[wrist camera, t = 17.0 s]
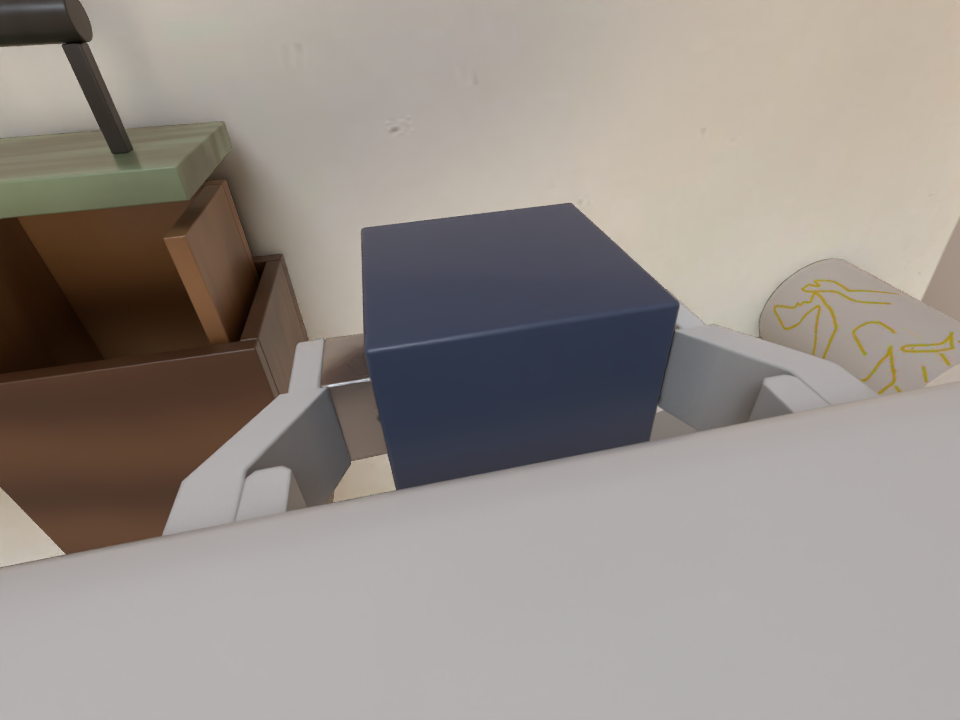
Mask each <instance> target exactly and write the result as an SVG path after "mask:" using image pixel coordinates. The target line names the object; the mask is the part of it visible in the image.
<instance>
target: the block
mask: <svg viewBox="0 0 960 720" xmlns="http://www.w3.org/2000/svg"><path fill="white" fill-rule="evenodd" d="M361 250H362V288H363V326H364V354H365V358H366V363H367V367H368V371H369V376H370V380H371V384H372V388H373V393H374V397H375V401H376V406H377V410H378V414H379V418H380V423H381V427H382V431H383V436H384V440H385V444H386V448H387V453H388V457H389V461H390V466H391V470H392V474H393V478H394V483H395V487H396V490H401V489H406V488H411V487H416V486H421V485H426V484H432V483H437V482H442V481H447V480H452V479H457V478H462V477H468V476H473V475H478V474H483V473H488V472H493V471H499V470H504V469H509V468H514V467H519V466H524V465H529V464H535V463H540V462H545V461H550V460H555V459H560V458H565V457H571V456H576V455H581V454H586V453H591V452H596V451H601V450H607V449H612V448H617V447H622V446H627V445H632V444H637V443H642V442H647V441H650V437H651V432H652V428H653V423H654V419H655V414H656V410H657V405H658V401H659V396H660V392H661V388H662V383H663V379H664V374H665V370H666V365H667V361H668V356H669V352H670V347H671V343H672V338H673V334H674V329H675V325H676V320H677V316H678V311H679V307H680V305H679V301H678V300H677V299H676V298H675V297H674V296H673V295H672V294H670V293H669V292H668V291H667V290H666V289H665V288H664V287H663V286H662V285H661V284H659V283H658V282H657V281H656V280H655V279H654V278H653V277H652V276H651V275H650V274H649V273H647V272H646V271H645V270H644V269H643V268H642V267H641V266H640V265H639V264H638V263H637V262H635V261H634V260H633V259H632V258H631V257H630V256H629V255H628V254H627V253H626V252H624V251H623V250H622V249H621V248H620V247H619V246H618V245H617V244H616V243H615V242H614V241H612V240H611V239H610V238H609V237H608V236H607V235H606V234H605V233H604V232H603V231H601V230H600V229H599V228H598V227H597V226H596V225H595V224H594V223H593V222H592V221H591V220H589V219H588V218H587V217H586V216H585V215H584V214H583V213H582V212H581V211H580V210H579V209H577V208H576V207H575V206H574V205H573V204H572V203H564V204H556V205H548V206H539V207H531V208H523V209H515V210H507V211H498V212H490V213H482V214H474V215H465V216H457V217H449V218H441V219H432V220H424V221H416V222H408V223H399V224H391V225H383V226H375V227H366V228H363V229H362V230H361Z"/></svg>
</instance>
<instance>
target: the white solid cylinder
mask: <svg viewBox="0 0 960 720" xmlns="http://www.w3.org/2000/svg"><path fill="white" fill-rule="evenodd" d="M759 332H760V336H761V338H762V339H763V340H766V341H769V342H772V343H775V344H778V345H782V346H785V347H788V348H791V349H794V350H797V351H800V352H804V353H807V354H810V355H813V356H816V357H819V358H822V359H826V360H829V361H832V362H835V363H838V364H839V365H841V366H842V367H843V368H845V369H846V370H847V371H849V372H850V373H851V374H853V375H854V376H855V377H857V378H858V379H859V380H861V381H862V382H863V383H865V384H866V385H867V386H869V387H870V388H871V389H873V390H874V391H875V392H877V393H878V394H879V395H881V396H884V395H889V394H894V393H899V392H904V391H909V390H914V389H919V388H925V387H930V386H935V385H940V384H945V383H950V382H955V381H960V322H958V321H956V320H955V319H953V318H951V317H949V316H947V315H945V314H943V313H941V312H940V311H938V310H936V309H934V308H932V307H930V306H929V305H927V304H925V303H923V302H921V301H919V300H917V299H916V298H914V297H912V296H910V295H908V294H906V293H904V292H903V291H901V290H899V289H897V288H895V287H893V286H891V285H890V284H888V283H886V282H884V281H882V280H880V279H878V278H877V277H875V276H873V275H871V274H869V273H867V272H865V271H863V270H862V269H860V268H858V267H856V266H854V265H852V264H850V263H849V262H847V261H844V260H841V259H827V260H822V261H818V262H815V263H813V264H810V265H808V266H806V267H804V268H802V269H801V270H799V271H798V272H796V273H795V274H793V275H792V276H791V277H789V278H788V279H787V280H786V281H785V282H783V283H782V284H781V285H780V286H779V288H778V289H777V290H776V291H775V292H774V293H773V295H772V296H771V297H770V299H769V300H768V302H767V304H766V305H765V307H764V309H763V312H762V314H761V318H760V322H759Z"/></svg>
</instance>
